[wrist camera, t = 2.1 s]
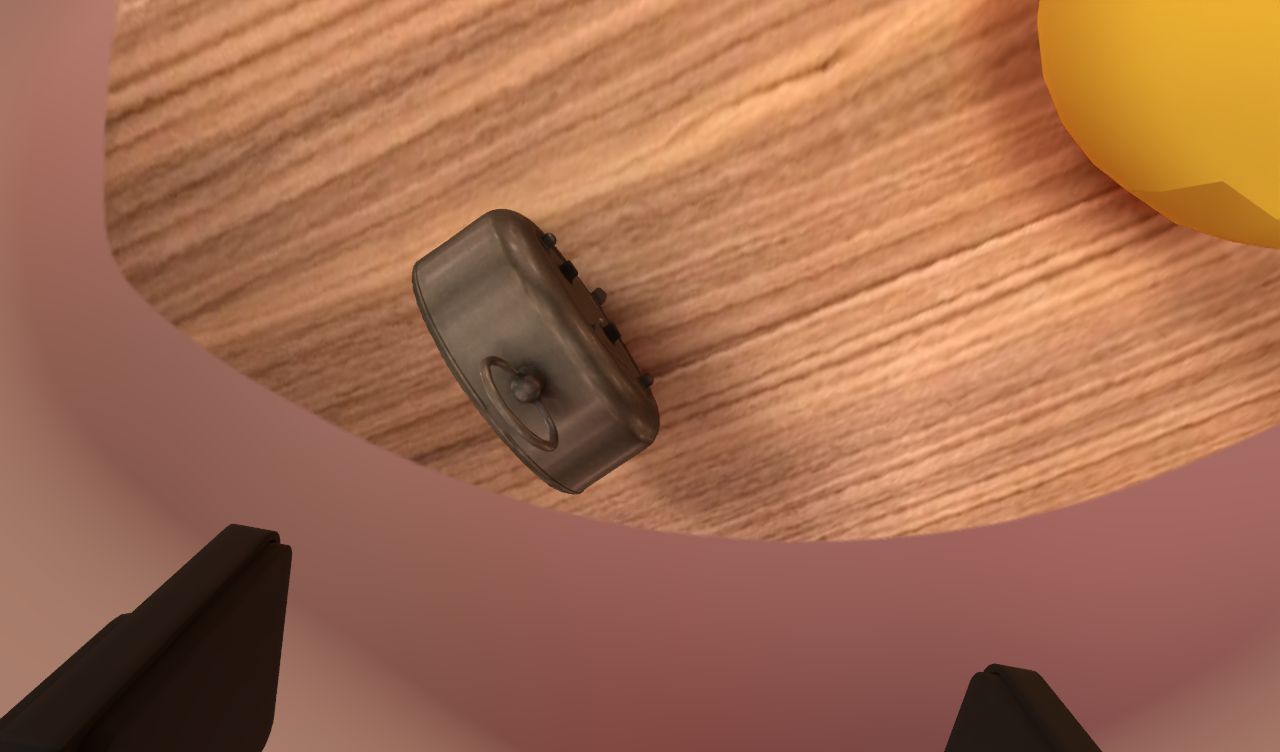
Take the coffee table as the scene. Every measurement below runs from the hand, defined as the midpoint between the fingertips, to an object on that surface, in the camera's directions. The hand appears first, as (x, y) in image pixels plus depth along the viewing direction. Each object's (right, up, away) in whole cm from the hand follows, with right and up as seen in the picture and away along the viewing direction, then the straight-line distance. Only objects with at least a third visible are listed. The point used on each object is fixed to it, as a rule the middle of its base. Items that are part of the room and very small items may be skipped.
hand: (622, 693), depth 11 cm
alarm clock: (-3, +7, +27) cm, 28 cm away
